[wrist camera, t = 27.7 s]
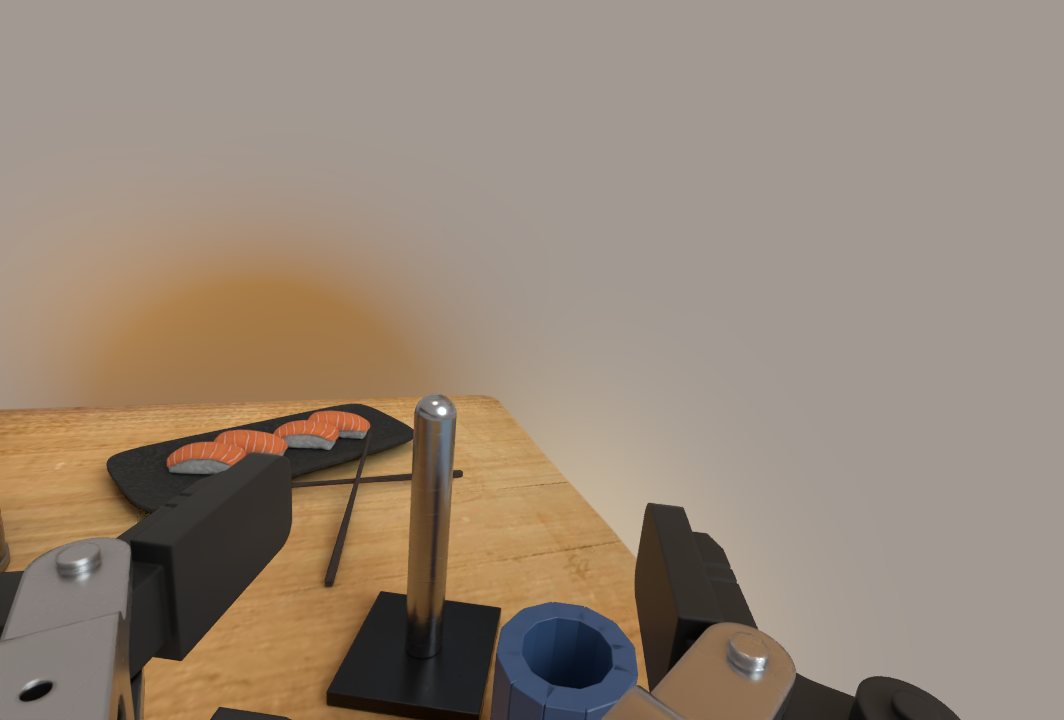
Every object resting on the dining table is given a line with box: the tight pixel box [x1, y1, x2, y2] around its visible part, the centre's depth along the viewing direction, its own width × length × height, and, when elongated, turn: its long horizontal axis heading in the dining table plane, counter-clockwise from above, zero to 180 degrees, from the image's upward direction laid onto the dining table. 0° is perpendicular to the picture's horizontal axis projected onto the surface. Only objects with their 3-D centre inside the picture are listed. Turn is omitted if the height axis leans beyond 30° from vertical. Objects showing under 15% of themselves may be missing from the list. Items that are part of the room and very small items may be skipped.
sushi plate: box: [107, 404, 463, 586], centre depth 56 cm, size 29×30×4 cm
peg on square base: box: [327, 394, 501, 720], centre depth 34 cm, size 9×9×18 cm
